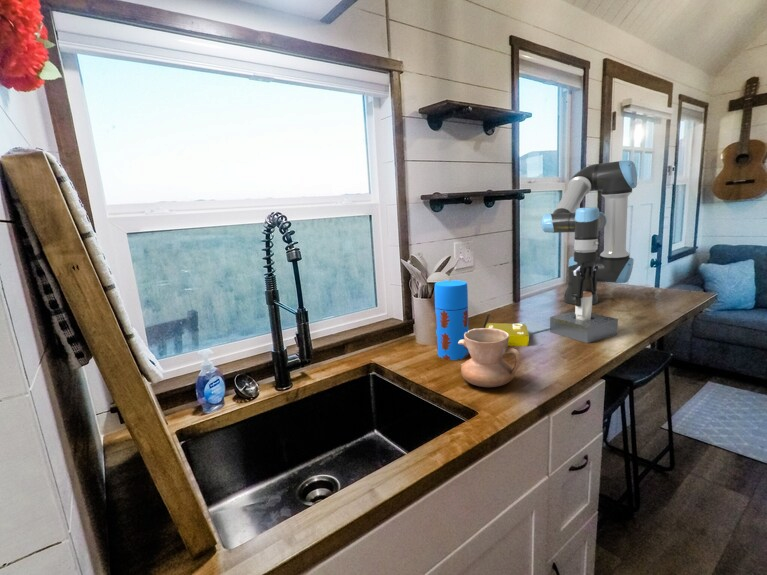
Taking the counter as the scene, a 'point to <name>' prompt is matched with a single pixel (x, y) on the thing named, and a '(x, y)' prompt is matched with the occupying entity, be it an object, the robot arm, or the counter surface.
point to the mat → (534, 327)
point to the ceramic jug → (488, 358)
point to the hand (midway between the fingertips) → (583, 312)
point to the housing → (583, 327)
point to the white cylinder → (586, 307)
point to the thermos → (451, 318)
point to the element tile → (513, 333)
